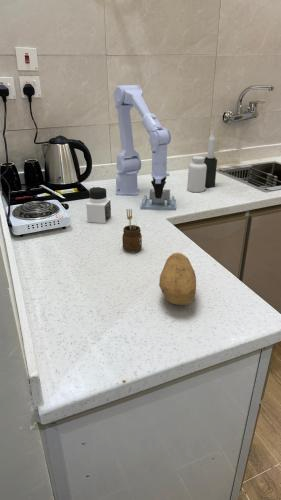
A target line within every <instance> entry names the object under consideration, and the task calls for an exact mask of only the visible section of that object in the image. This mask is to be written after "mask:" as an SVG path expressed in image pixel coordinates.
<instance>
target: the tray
mask: <svg viewBox="0 0 281 500" xmlns="http://www.w3.org/2000/svg"><path fill="white" fill-rule="evenodd" d="M147 197H148V195H146V194H145V195H144V196H143V198H142V199H141V203H140V209H139V210H151V211H152V210H153V211H154V210H155V211H160V210H161V211H176V208H177V207H176V206H177V199H175V196H174V195H171V198H170V203H169V205H167V200H165V203H164V205H152V200H151V199H150V200H149V198H147Z"/></svg>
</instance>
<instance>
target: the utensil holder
mask: <svg viewBox="0 0 281 500" xmlns="http://www.w3.org/2000/svg"><path fill="white" fill-rule="evenodd" d="M132 212H133V210H132V208H127V209H126V218H127V220H129V221H128V223H129V224H128V225H125V226H124V227H123V230H122V231H123V234H122V236H121V239H122V249H123V251H125V252H126V253H130V254H133V253H134V254H135V253H139V252H140V251H141V250H142V248H143V247H142V246H143V243H142V242H143V238H142V237H143V236H142V233H141V231H142V230H141V227H140V226H139V225H137V220H136V218H135V217H133V213H132ZM132 222H135V223H133V224H132Z"/></svg>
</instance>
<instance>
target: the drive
mask: <svg viewBox="0 0 281 500" xmlns="http://www.w3.org/2000/svg"><path fill="white" fill-rule="evenodd" d="M148 199H149V200H150V199H151V200H152V205H164V203H165V200H167V205H169V203H170V199H171V189H163V191H162V197H161V199H160V198H156V197H155V192H154V188H153V189H152V188H151V189H150V190H149V198H148Z"/></svg>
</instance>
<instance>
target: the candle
mask: <svg viewBox="0 0 281 500" xmlns="http://www.w3.org/2000/svg"><path fill="white" fill-rule="evenodd" d="M214 132H215V131H213V130H212V131H211V134H210V137H209V138H208V143H207V145H208V146H207V156H205V157H204V158H205V159H204V163H205V164H206V166H207V170H206V181H205V189H210V188H215V187H216V177H217V176H216V175H217V168H218V167H217V166H218V159H217V157H216V156H215V149H216V148H215V147H216V137H215V135H214Z"/></svg>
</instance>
